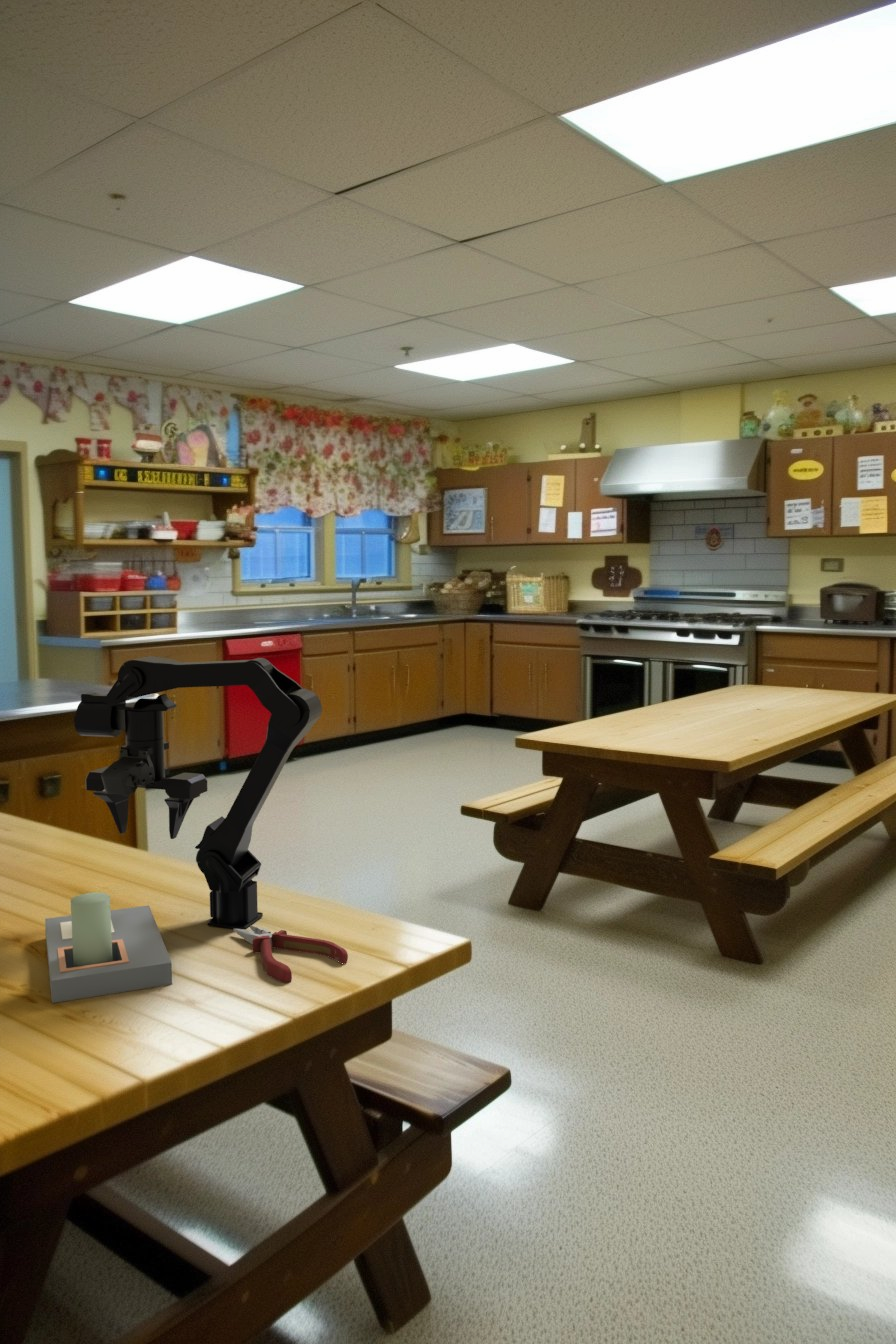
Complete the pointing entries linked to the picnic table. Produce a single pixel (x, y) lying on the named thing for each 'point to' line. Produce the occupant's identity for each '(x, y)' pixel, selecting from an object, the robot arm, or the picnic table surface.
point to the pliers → (281, 940)
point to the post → (91, 929)
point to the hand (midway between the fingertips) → (147, 835)
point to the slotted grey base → (132, 951)
